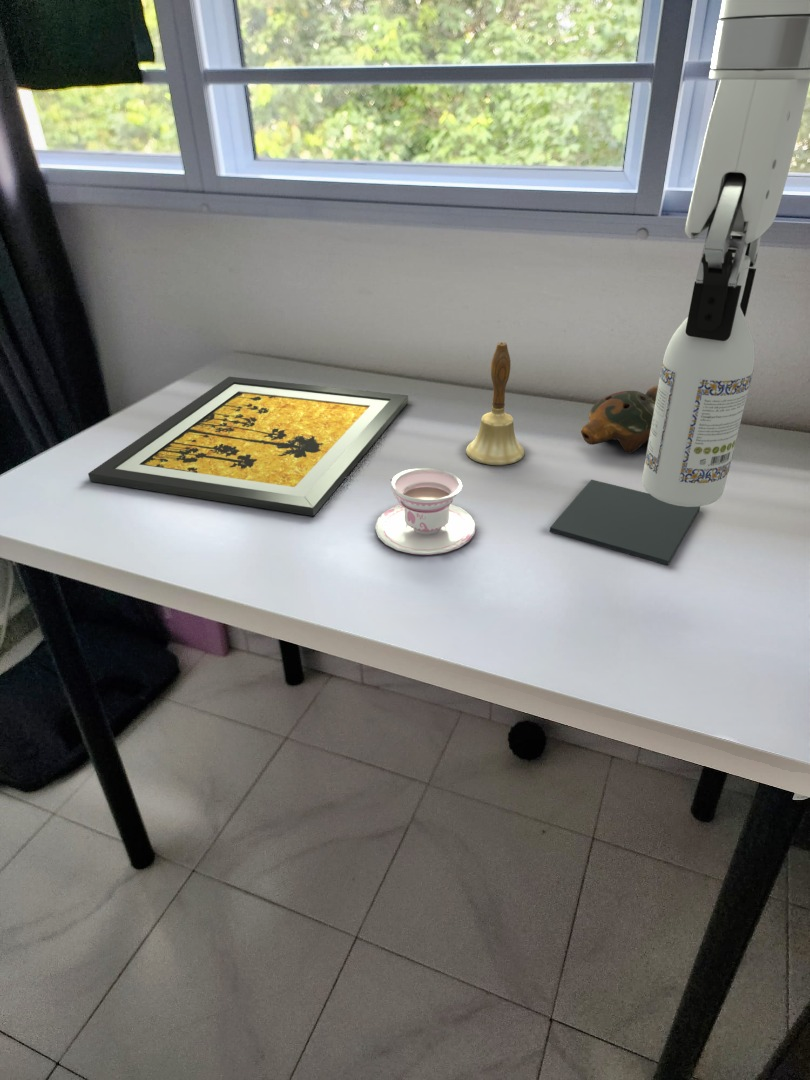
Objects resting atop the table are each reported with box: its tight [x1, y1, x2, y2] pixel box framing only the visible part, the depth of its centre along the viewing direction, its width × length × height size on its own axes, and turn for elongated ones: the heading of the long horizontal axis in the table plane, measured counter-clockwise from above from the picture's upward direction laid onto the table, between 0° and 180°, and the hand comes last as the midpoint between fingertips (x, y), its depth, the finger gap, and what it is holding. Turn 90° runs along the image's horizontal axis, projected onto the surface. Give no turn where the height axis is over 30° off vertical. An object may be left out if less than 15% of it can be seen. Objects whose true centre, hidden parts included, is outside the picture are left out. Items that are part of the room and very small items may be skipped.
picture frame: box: [87, 376, 409, 517], centre depth 112 cm, size 38×1×33 cm
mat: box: [549, 479, 701, 566], centre depth 91 cm, size 14×14×1 cm
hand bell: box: [465, 342, 525, 466], centre depth 103 cm, size 8×8×16 cm
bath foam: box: [641, 253, 756, 507], centre depth 61 cm, size 7×7×20 cm
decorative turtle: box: [580, 385, 658, 454], centre depth 107 cm, size 10×15×8 cm, turn 122°
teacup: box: [374, 467, 476, 556], centre depth 88 cm, size 12×12×6 cm
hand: (715, 324), depth 59 cm, fingers closed on bath foam, 5 cm apart
